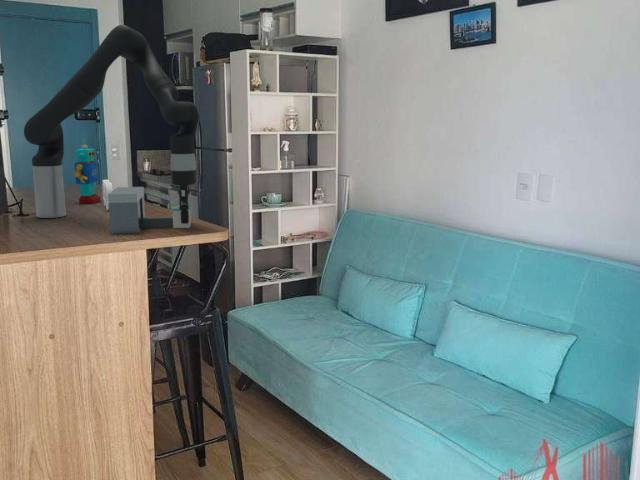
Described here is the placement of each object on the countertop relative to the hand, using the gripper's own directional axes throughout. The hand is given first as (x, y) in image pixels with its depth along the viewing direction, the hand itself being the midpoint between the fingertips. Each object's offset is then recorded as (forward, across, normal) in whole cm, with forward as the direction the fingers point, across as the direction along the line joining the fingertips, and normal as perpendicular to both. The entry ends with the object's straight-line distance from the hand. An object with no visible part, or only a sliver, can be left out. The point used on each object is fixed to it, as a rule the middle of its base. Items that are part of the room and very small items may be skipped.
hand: (185, 221), depth 197 cm
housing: (+2, 0, +17) cm, 17 cm away
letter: (+2, +46, +30) cm, 55 cm away
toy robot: (+2, +63, +40) cm, 75 cm away
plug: (+2, 0, +9) cm, 9 cm away
